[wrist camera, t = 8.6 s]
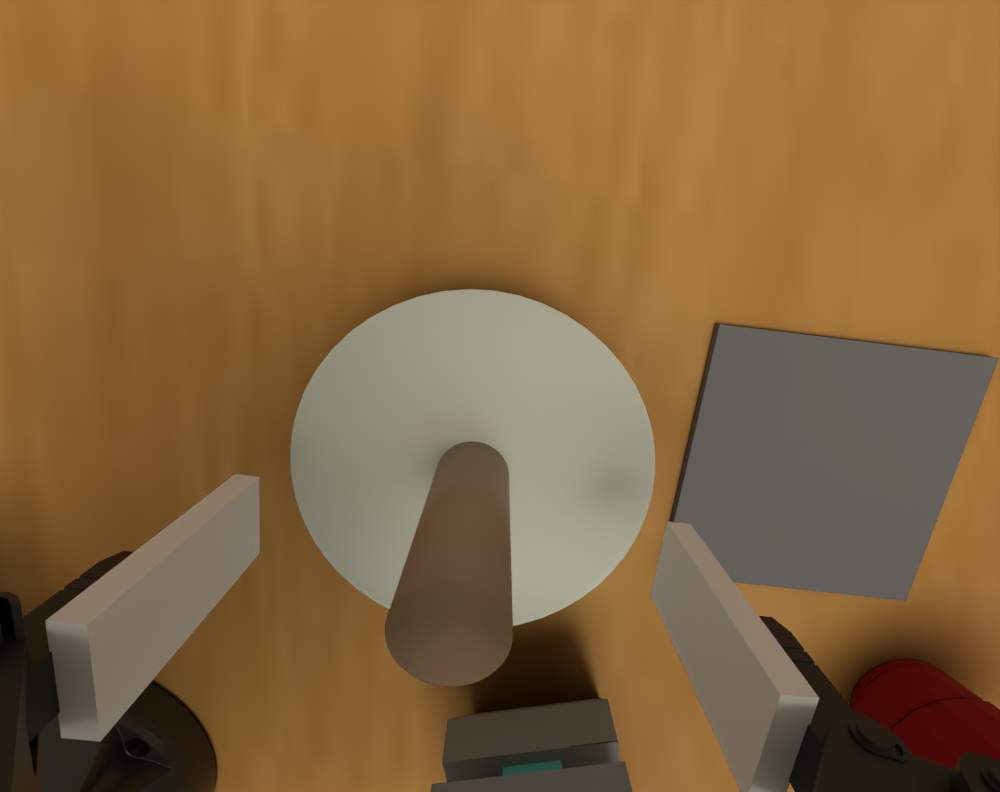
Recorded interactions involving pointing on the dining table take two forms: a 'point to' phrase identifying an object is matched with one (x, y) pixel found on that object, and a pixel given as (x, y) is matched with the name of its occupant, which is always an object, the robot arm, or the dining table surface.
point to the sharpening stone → (535, 750)
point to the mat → (825, 457)
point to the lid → (471, 471)
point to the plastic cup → (928, 711)
